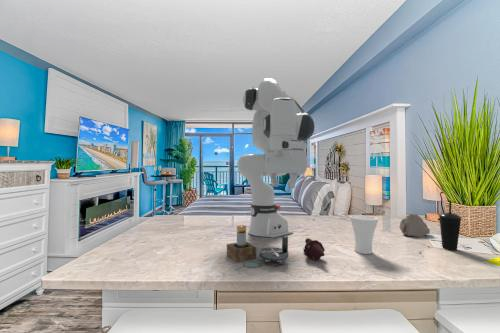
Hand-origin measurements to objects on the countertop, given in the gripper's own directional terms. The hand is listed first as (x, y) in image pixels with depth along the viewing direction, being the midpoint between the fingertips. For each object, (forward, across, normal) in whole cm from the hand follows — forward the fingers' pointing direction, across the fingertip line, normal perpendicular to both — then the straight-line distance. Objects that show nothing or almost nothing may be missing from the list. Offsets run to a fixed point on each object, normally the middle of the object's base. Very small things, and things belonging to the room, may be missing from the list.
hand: (282, 187), depth 87 cm
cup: (+26, 0, +38) cm, 46 cm away
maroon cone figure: (+26, -2, +15) cm, 30 cm away
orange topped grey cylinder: (+26, -14, -8) cm, 31 cm away
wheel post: (+26, -5, 0) cm, 27 cm away
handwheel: (+24, -5, 0) cm, 24 cm away
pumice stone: (+25, -7, +84) cm, 88 cm away
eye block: (+26, -14, -8) cm, 31 cm away
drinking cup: (+26, +13, +74) cm, 80 cm away
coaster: (+26, -6, -8) cm, 28 cm away
